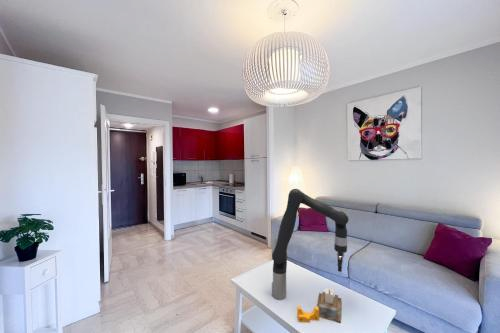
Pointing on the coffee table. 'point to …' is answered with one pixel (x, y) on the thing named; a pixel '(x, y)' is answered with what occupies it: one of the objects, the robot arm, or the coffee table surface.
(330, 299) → the white cube with stick
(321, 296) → the gauge board
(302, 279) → the coffee table surface
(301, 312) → the pipe clamp
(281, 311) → the coffee table surface
